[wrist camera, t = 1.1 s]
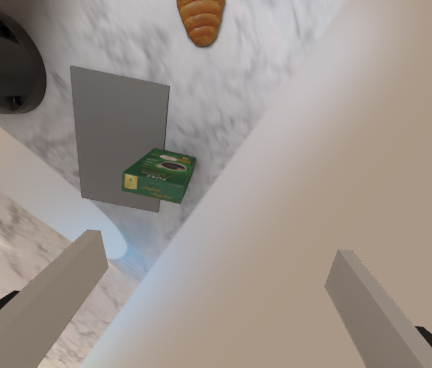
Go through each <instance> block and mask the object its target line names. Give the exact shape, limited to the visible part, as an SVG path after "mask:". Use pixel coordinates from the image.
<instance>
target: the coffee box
mask: <svg viewBox="0 0 432 368" xmlns="http://www.w3.org/2000/svg"><path fill="white" fill-rule="evenodd" d="M195 161H196V158H194V157H189V156H186V155H181V154H177V153H172V152H168V151H164V150H160V149H156V148H154V149H152V150H151V151H150V152H149V153H147V154H146V155H145V156H143V157H142V158H141V159H139V160H138V161H137V162H135V163H134V164H133V165H131V166H130V167H129V168H127V169H126V170H125V171H124V172H122V191H124V192H128V193H133V194H138V195H142V196H146V197H151V198H156V199H160V200H165V201H169V202H174V203H178V204H181V202H182V199H183V197H184V195H185V192H186V189H187V187H188V184H189V182H190V179H191V176H192V174H193V170H194V165H195Z"/></svg>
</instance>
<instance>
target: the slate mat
mask: <svg viewBox="0 0 432 368" xmlns="http://www.w3.org/2000/svg"><path fill="white" fill-rule="evenodd" d="M70 71H71V83H72V94H73V105H74V117H75V128H76V139H77V150H78V162H79V173H80V184H81V195H82V198H87V199H92V200H97V201H102V202H107V203H112V204H117V205H122V206H127V207H132V208H137V209H142V210H147V211H152V212H157V213H158V212H159V202H160V199H156V198H151V197H146V196H142V195H138V194H133V193H128V192H124V191H122V172H124V171H125V170H126V169H127V168H129V167H130V166H131V165H133V164H134V163H135V162H137V161H138V160H139V159H141V158H142V157H143V156H145V155H146V154H147V153H149V152H150V151H151V150H152V149H154V148H156V149H160V150H164V145H165V133H166V122H167V110H168V99H169V87H170V86H167V85H162V84H157V83H152V82H148V81H143V80H138V79H133V78H128V77H123V76H118V75H114V74H109V73H104V72H99V71H94V70H89V69H85V68H80V67H75V66H70Z"/></svg>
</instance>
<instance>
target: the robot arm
mask: <svg viewBox="0 0 432 368" xmlns="http://www.w3.org/2000/svg"><path fill="white" fill-rule="evenodd" d="M45 86H46V77H45V70H44V66H43V62H42V59H41V57H40V54H39V52H38V50H37V48H36V46H35V45H34V43H33V41H32V40H31V38H30V37H29V36H28V34H27V33H26V32H25V31H24V30H23V29H22V27H21V26H20V25H19V24H17V23H16V22H15V21H14V20H13V19H11V18H10V17H9V16H7V15H6V14H4V13H2V12H0V114H19V113H25V112H28V111H31V110H32V109H34V108H35V107H36V106H37V105H38V104H39V103H40V101H41V100H42V98H43V95H44V92H45ZM107 269H108V263H107V259H106V254H105V249H104V245H103V240H102V236H101V231H98V230H86V231H85V232H84V233H83V234H82V235H81V236H80V237H79V238H78V239H76V240H75V241H74V242H73V243H72V244H71V245H70V246H69V247H68V248H67V249H66V250H65V251H63V252H62V253H61V254H60V255H59V256H58V257H57V258H56V259H55V260H54V261H53V262H52V263H50V264H49V265H48V266H47V267H46V268H45V269H44V270H43V271H42V272H41V273H40V274H38V275H37V276H36V277H35V278H34V279H33V280H32V281H31V282H30V283H29V284H28V285H27V286H25V287H24V288H23V289H22V290H21V291H13V292H11V293H10V294H8V295H6V296H5V297H3V298H2V299H0V368H37V367H38V365H39V364H40V363H41V361H42V360H43V358H44V357H45V356H46V354H47V353H48V351H49V350H50V349H51V347H52V346H53V344H54V343H55V342H56V340H57V339H58V337H59V336H60V335H61V333H62V332H63V330H64V329H65V328H66V326H67V325H68V323H69V322H70V321H71V319H72V318H73V316H74V315H75V314H76V312H77V311H78V309H79V308H80V307H81V305H82V304H83V302H84V301H85V300H86V298H87V297H88V295H89V294H90V293H91V291H92V290H93V288H94V287H95V286H96V284H97V283H98V281H99V280H100V279H101V277H102V276H103V274H104V273H105V272H106V270H107ZM325 287H326V290H327V292H328V293H329V295H330V297H331V299H332V301H333V303H334V305H335V307H336V309H337V311H338V313H339V315H340V317H341V319H342V321H343V323H344V325H345V327H346V329H347V331H348V332H349V335H350V337H351V338H352V340H353V342H354V344H355V346H356V348H357V350H358V352H359V354H360V356H361V358H362V360H363V362H364V364H365V366H366V368H432V334H431V333H430V332H429V331H427V330H426V329H425V328H424V327H418V326H414V325H413V324H412V323H411V322H410V321H409V319H408V318H407V317H406V315H405V314H404V313H403V312H402V310H401V309H400V308H399V307H398V306H397V305H396V303H395V302H394V301H393V299H392V298H391V297H390V296H389V295H388V293H387V292H386V291H385V290H384V289H383V287H382V286H381V285H380V284H379V282H378V281H377V280H376V279H375V277H374V276H373V275H372V274H371V272H370V271H369V270H368V269H367V268H366V266H365V265H364V264H363V263H362V261H361V260H360V259H359V258H358V257H357V255H356V254H355V253H354V252H353V251H352V250H340V249H338V251H337V254H336V256H335V259H334V262H333V265H332V267H331V270H330V273H329V275H328V278H327V281H326V284H325Z"/></svg>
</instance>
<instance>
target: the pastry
mask: <svg viewBox="0 0 432 368" xmlns="http://www.w3.org/2000/svg"><path fill="white" fill-rule="evenodd" d="M224 5H225V0H177V8H178V10H179V14H180V16H181V18H182V22H183V24H184V27H185V29H186V32H187V35H188V37H189V38H190V39H191V40H192V41H193V43H194V44H195V45H196V46H201V47H202V46H206V45H209V44H210V43H211V42H212V41H213V40H214V39H215V38H216V37H217V33H218V28H219V25H220V23H221V19H222V12H223V8H224Z"/></svg>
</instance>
